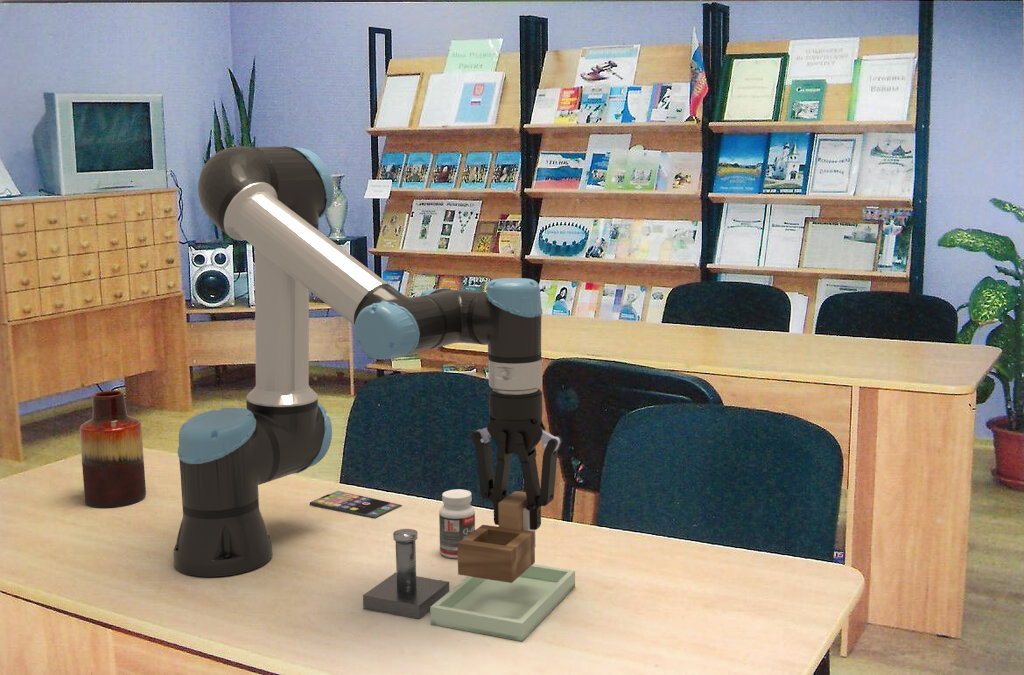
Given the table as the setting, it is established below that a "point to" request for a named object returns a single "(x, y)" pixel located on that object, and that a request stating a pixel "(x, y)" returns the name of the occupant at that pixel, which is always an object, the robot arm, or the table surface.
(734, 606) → the table surface
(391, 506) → the smartphone
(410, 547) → the grey peg stand
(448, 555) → the pill bottle
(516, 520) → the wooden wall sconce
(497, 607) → the tray
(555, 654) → the table surface
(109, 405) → the vase
